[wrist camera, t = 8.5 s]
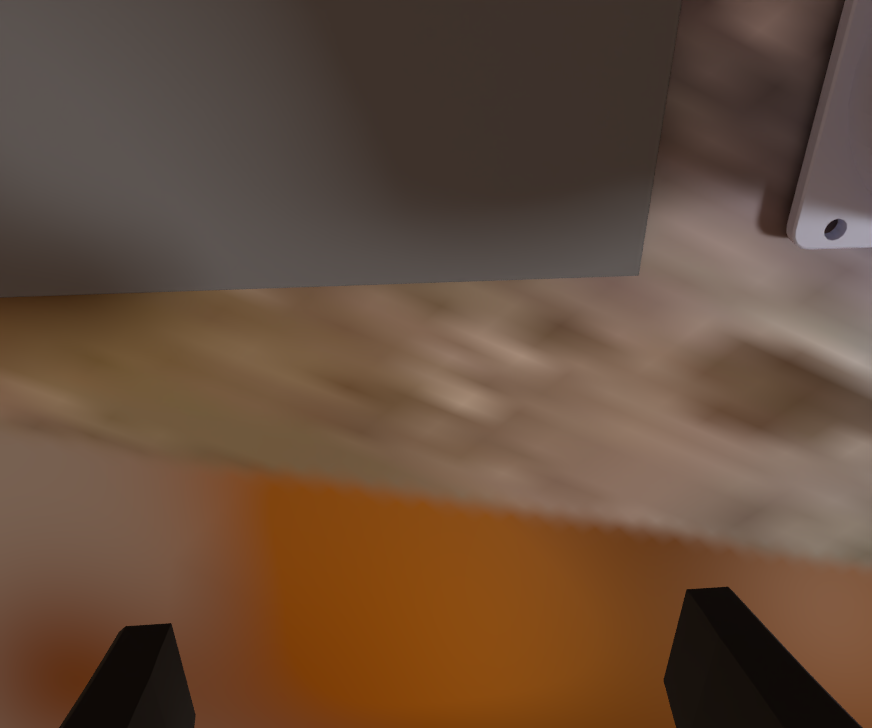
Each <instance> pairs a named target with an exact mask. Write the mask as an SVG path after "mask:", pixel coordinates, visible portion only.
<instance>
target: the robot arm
mask: <svg viewBox="0 0 872 728" xmlns="http://www.w3.org/2000/svg"><path fill="white" fill-rule="evenodd" d="M835 219H838V223H837V225H836V227H835V228H834V229H833V230H832V231H830V232H828V233H825V234H824V230H825V228H826V226H827V224H829V223H830V222H831V221H832V220H835ZM786 233H787V235H788V238H789V239H790V240H791V241H792V242H793V243H794V244H796V245H797V246H798V247H800V248H802V249H838V248H869V247H872V0H845V3H844V7H843V10H842V14H841V18H840V22H839V26H838V30H837V34H836V37H835V41H834V45H833V49H832V53H831V57H830V61H829V64H828V68H827V72H826V76H825V80H824V84H823V88H822V91H821V95H820V99H819V103H818V107H817V111H816V114H815V118H814V122H813V126H812V130H811V134H810V138H809V141H808V145H807V149H806V153H805V157H804V161H803V165H802V168H801V172H800V176H799V180H798V184H797V188H796V192H795V195H794V199H793V203H792V207H791V211H790V215H789V218H788V222H787V230H786ZM664 684H665V687H666V691H667V695H668V699H669V702H670V707H671V710H672V714H673V718H674V721H675V725H676V728H862V727H861V726H860V725H859V724H858V723H857V722H856V721H855V720H854V719H853V718H852V717H851V716H850V715H849V714H848V713H847V712H846V711H845V710H844V709H843V708H842V707H841V705H839V704H838V703H837V701H836V700H834V698H833V697H831V695H830V694H829V693H828V692H827V691H826V690H825V689H824V688H823V687H822V686H821V685H820V684H819V683H818V682H817V681H816V680H815V679H814V678H813V677H812V676H811V675H810V674H809V673H808V672H807V671H806V670H805V669H804V667H803V666H802V665H801V664H800V663H799V662H798V661H797V660H796V659H795V658H794V657H793V656H792V655H791V654H790V652H788V651H787V649H786V648H785V647H784V646H783V645H782V644H781V643H780V642H779V641H778V640H777V639H776V637H775V636H774V635H773V634H772V633H771V632H770V631H769V630H768V629H767V628H766V627H765V626H764V625H763V623H762V622H761V621H760V620H759V619H758V618H757V617H756V616H755V615H754V614H753V613H752V612H751V610H750V609H749V608H748V607H747V606H746V605H745V604H744V603H743V602H742V601H741V600H740V599H739V598H738V596H736V594H735V593H734V592H733V591H732V590H731V589H730V588H729V587H718V588H703V589H687V590H686V594H685V598H684V602H683V606H682V610H681V614H680V618H679V621H678V625H677V629H676V633H675V637H674V641H673V645H672V649H671V653H670V657H669V661H668V665H667V669H666V673H665V677H664ZM194 723H195V712H194V707H193V704H192V700H191V696H190V692H189V689H188V685H187V681H186V677H185V674H184V670H183V666H182V662H181V658H180V654H179V651H178V647H177V644H176V639H175V636H174V632H173V628H172V624H171V623H169V624H154V625H140V626H126V627H124V628H123V629H122V630H121V631H120V632H119V633H118V635H117V636H116V638H115V640H114V641H113V643H112V645H111V646H110V648H109V650H108V651H107V653H106V655H105V656H104V658H103V660H102V661H101V663H100V665H99V666H98V668H97V669H96V671H95V673H94V674H93V676H92V677H91V679H90V681H89V682H88V684H87V685H86V687H85V689H84V690H83V692H82V694H81V695H80V697H79V698H78V700H77V701H76V703H75V704H74V706H73V707H72V709H71V710H70V712H69V714H68V715H67V717H66V718H65V720H64V721H63V723H62V724H61V726H60V727H59V728H194Z"/></svg>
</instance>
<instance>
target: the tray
mask: <svg viewBox="0 0 872 728" xmlns="http://www.w3.org/2000/svg"><path fill="white" fill-rule="evenodd" d="M681 3H682V0H0V297H28V296H57V295H86V294H115V293H144V292H173V291H203V290H232V289H261V288H290V287H319V286H348V285H377V284H407V283H436V282H465V281H494V280H523V279H552V278H581V277H610V276H639V270H640V263H641V257H642V251H643V244H644V238H645V232H646V225H647V219H648V213H649V206H650V200H651V194H652V187H653V181H654V175H655V168H656V162H657V156H658V149H659V143H660V137H661V130H662V124H663V117H664V111H665V105H666V98H667V92H668V86H669V79H670V73H671V67H672V60H673V54H674V48H675V41H676V35H677V29H678V22H679V16H680V10H681Z"/></svg>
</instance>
